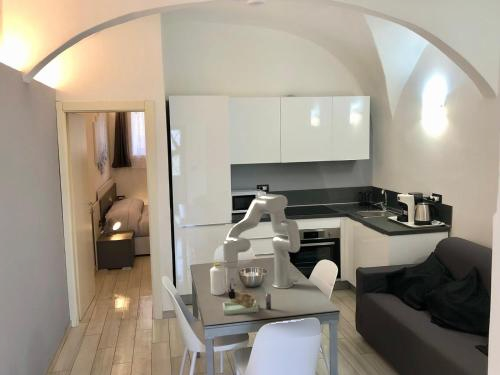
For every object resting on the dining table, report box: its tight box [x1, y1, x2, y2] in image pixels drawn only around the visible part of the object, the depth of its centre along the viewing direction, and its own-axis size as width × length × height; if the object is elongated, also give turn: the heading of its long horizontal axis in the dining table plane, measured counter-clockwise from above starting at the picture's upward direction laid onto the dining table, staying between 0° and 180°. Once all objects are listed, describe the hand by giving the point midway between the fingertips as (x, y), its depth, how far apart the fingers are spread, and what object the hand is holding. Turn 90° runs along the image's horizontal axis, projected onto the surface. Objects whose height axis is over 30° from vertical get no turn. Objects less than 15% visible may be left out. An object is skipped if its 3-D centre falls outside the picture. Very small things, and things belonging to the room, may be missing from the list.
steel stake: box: [265, 293, 272, 311], centre depth 240 cm, size 3×3×8 cm
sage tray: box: [221, 299, 259, 316], centre depth 241 cm, size 18×12×2 cm, turn 98°
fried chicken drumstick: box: [228, 291, 256, 308], centre depth 240 cm, size 12×6×5 cm, turn 98°
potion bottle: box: [209, 262, 226, 296], centre depth 266 cm, size 8×8×18 cm
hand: (231, 297), depth 240 cm, fingers closed on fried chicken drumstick, 3 cm apart
